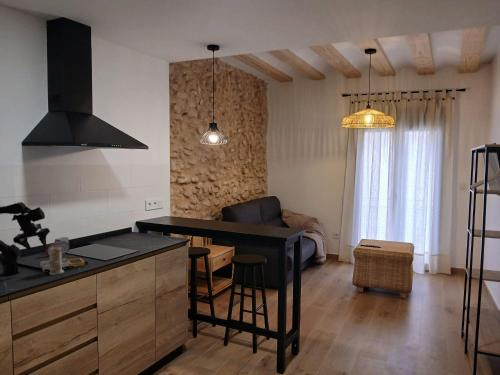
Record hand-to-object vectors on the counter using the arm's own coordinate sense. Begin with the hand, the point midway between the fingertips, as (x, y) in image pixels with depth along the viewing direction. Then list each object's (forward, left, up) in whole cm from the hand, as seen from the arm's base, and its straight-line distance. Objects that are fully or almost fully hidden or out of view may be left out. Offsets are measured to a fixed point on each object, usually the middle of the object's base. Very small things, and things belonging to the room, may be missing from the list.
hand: (38, 248), depth 216 cm
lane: (+8, -3, -13) cm, 15 cm away
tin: (+27, +18, -13) cm, 35 cm away
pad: (+2, -11, -13) cm, 17 cm away
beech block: (+2, -11, -12) cm, 17 cm away
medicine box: (+35, +24, -13) cm, 45 cm away
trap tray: (+18, -8, -13) cm, 23 cm away
